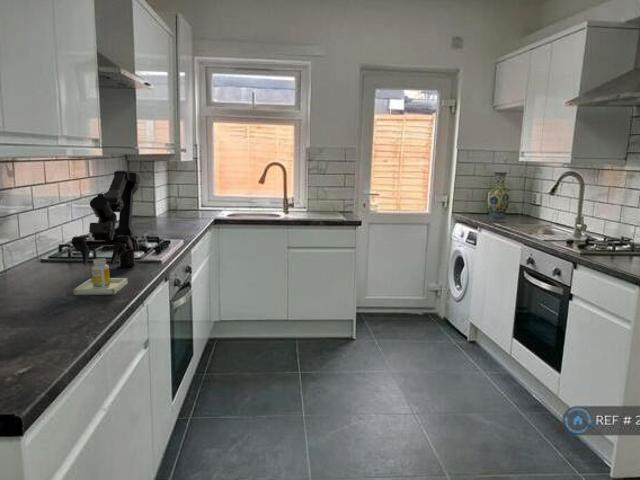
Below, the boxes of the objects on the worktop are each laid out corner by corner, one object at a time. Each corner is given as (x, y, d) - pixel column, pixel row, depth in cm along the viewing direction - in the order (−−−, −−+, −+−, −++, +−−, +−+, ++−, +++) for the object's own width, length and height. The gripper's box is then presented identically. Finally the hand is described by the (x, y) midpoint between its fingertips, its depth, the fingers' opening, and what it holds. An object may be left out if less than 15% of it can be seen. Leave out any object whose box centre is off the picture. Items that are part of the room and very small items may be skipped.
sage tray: (91, 283, 171) (90, 278, 170) (128, 282, 171) (127, 278, 171) (74, 294, 158) (73, 289, 157) (114, 294, 158) (113, 289, 158)
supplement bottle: (95, 290, 161) (92, 262, 159) (91, 286, 165) (89, 259, 163) (112, 287, 164) (109, 259, 162) (108, 283, 168) (106, 256, 166)
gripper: (70, 213, 162) (60, 252, 154) (127, 212, 164) (120, 251, 155) (81, 231, 171) (72, 269, 163) (135, 230, 173) (129, 268, 165)
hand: (98, 264), depth 161 cm, fingers open, 8 cm apart
